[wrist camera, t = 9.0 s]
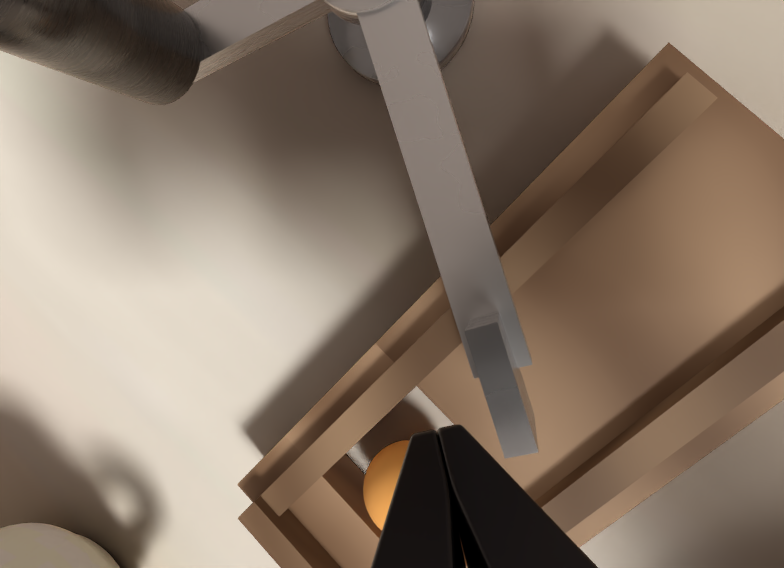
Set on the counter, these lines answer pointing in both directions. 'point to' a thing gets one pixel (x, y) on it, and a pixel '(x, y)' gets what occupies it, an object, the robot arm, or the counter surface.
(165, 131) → the counter surface
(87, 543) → the teacup
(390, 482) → the ball
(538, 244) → the lane
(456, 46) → the pivot post
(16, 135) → the counter surface
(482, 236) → the lever
